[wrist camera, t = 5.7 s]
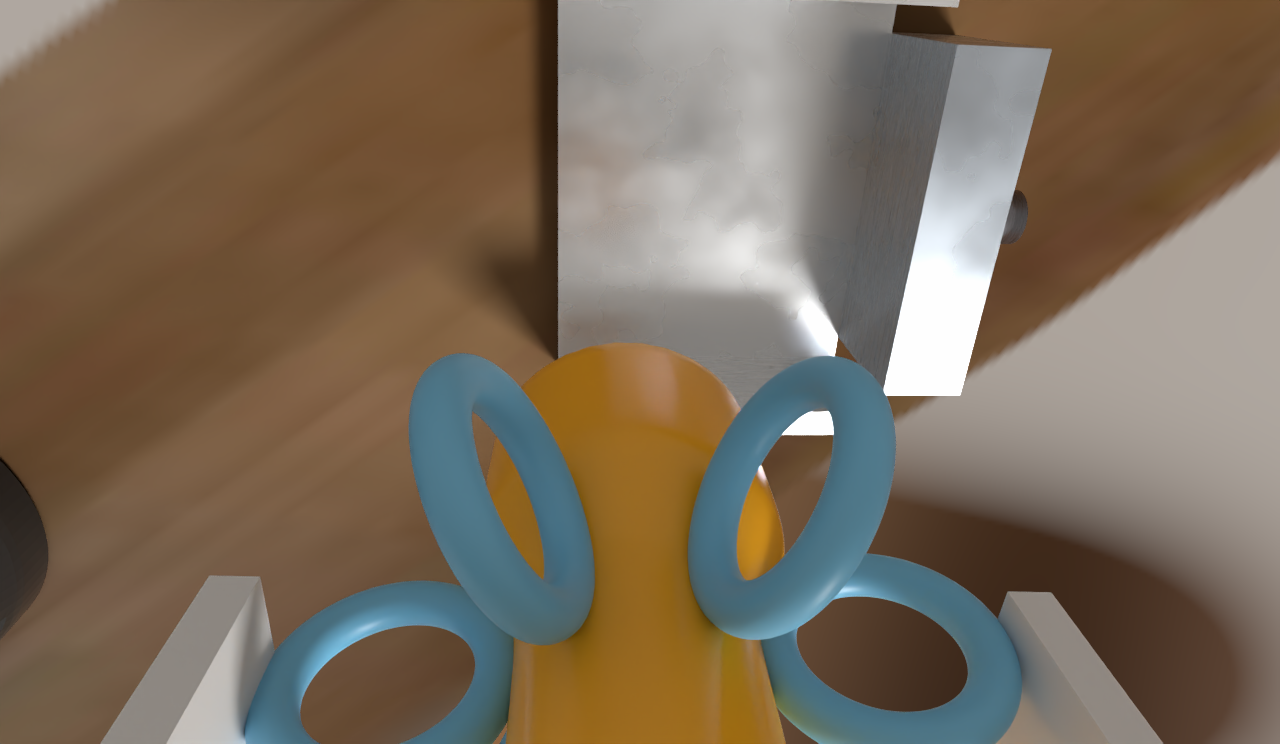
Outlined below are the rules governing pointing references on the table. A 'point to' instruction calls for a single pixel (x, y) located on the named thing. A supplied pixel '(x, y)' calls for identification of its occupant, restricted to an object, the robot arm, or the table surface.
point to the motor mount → (786, 185)
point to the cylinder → (648, 562)
